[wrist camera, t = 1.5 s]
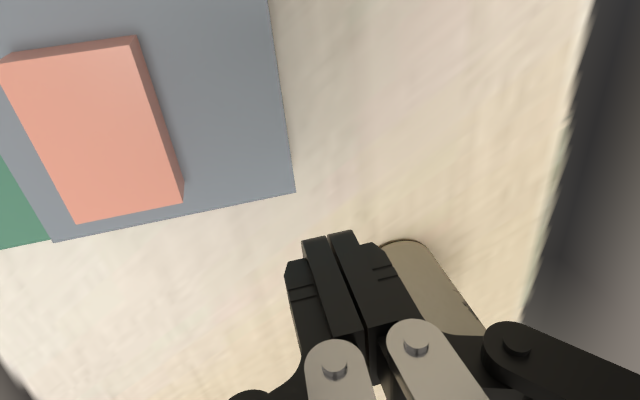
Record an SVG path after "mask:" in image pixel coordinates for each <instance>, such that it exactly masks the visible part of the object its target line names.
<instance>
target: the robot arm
mask: <svg viewBox="0 0 640 400" xmlns="http://www.w3.org/2000/svg"><path fill="white" fill-rule="evenodd" d="M301 245H302V252H303V258H302V259H298V260H294V261H290V262H288V264H287V267H286V270H285V274H284V279H285V284H286V289H287V294H288V299H289V304H290V309H291V314H292V318H293V322H294V326H295V331H296V335H297V339H298V344H299V348H300V352H301V361H300V364H299V367H298V369H297V370H296V372H295V373H294V375H293V376H292V377H291V378H290V379H289V380H288V381H286V382H285V383H284V384H282V385H281V386H279V387H278V388H276V389H275V390H273V391H272V392H270V393H267V392H265V391H261V390H247V391H243V392H240V393H238V394H236V395H234V396H233V397H231V398H230V399H229V400H376V397H375V393H374V390H373V387H372V386H375V385H378V384H381V386H382V388H383V391H384V393H385V396H386V400H640V375H639V374H637V373H634V372H632V371H630V370H628V369H625V368H623V367H621V366H618V365H616V364H614V363H611V362H609V361H607V360H604V359H602V358H600V357H598V356H595V355H593V354H591V353H588V352H586V351H584V350H581V349H579V348H577V347H574V346H572V345H570V344H568V343H565V342H563V341H561V340H558V339H556V338H554V337H551V336H549V335H547V334H545V333H542V332H540V331H538V330H535V329H533V328H531V327H528V326H526V325H523V324H521V323H517V322H511V321H503V322H498V323H495V324H493V325H491V326H490V327H489V328H487V330H486V331H485V334H484V336H470V335H453V334H448V333H445V332H442V331H440V330H439V329H438V328H437V327H436V326H435V325H433V324H432V323H429V322H427V321H426V320H425V319H424V318H423V316H422V315H421V313H420V311H419V310H418V308H417V306H416V304H415V303H414V301H413V299H412V298H411V296H410V294H409V292H408V291H407V289H406V287H405V285H404V284H403V282H402V280H401V279H400V277H399V276H398V273H397V272H396V270H395V268H394V267H393V266H392V263H391V261H390V259H389V258H388V256H387V254H386V253H385V251H383V250H382V249H381V248H379V247H378V246H377V245H375V244H374V243H372V242H371V243H366V244H362V245H359V243H358V241H357V239H356V237H355V235H354V233H353V231H352V230H346V231H342V232H337V233H333V234H329V235H327V238H326V236H320V237H316V238H311V239H307V240H303V241H301Z"/></svg>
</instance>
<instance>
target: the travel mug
mask: <svg viewBox="0 0 640 400" xmlns="http://www.w3.org/2000/svg"><path fill="white" fill-rule="evenodd" d="M381 249H382V250H383V251H385V253H386V254H387V256H388V258H389V259H390V261H391V263H392V266H393V267H394V268H395V270H396V272H397V273H398V276H399V277H400V279H401V280H402V282H403V284H404V285H405V287H406V289H407V291H408V292H409V294H410V296H411V298H412V299H413V301H414V303H415V304H416V306H417V308H418V310H419V311H420V313H421V315H422V316H423V318H424V319H425V320H426V321H427V322H429V323H432V324H433V325H435V326H436V327H437V328H438V329H439V330H440V331H442V332H445V333H448V334H453V335H470V336H484V334H485V331H486V329H485V327H484V326H483V325H482V323H481V322H480V320H479V319H478V318H477V316H476V315H475V314H474V312H473V311H472V309H471V308H470V307H469V305H468V304H467V302H466V301H465V300H464V298H463V297H462V295H461V294H460V293H459V291H458V290H457V289H456V287H455V286H454V284H453V283H452V282H451V280H450V279H449V277H448V276H447V275H446V273H445V272H444V270H443V269H442V268H441V266H440V265H439V264H438V262H437V261H436V259H435V258H434V257H433V255H432V254H431V252H430V251H429V250H428V249H427V248H426V247H425V246H424V245H422V244H420V243H418V242H414V241H399V242H394V243H391V244H388V245H386V246H384V247H382V248H381Z"/></svg>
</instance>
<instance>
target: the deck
mask: <svg viewBox="0 0 640 400" xmlns="http://www.w3.org/2000/svg"><path fill="white" fill-rule="evenodd" d="M129 35H137V38H138V41H139V44H140V47H141V50H142V53H143V56H144V59H145V63H146V66H147V69H148V72H149V75H150V78H151V81H152V84H153V87H154V90H155V93H156V96H157V99H158V102H159V105H160V108H161V111H162V115H163V118H164V121H165V124H166V127H167V130H168V133H169V136H170V139H171V142H172V145H173V148H174V151H175V154H176V157H177V160H178V163H179V167H180V170H181V173H182V176H183V179H184V182H185V183H184V197H183V203H180V204H175V205H170V206H165V207H161V208H156V209H151V210H146V211H141V212H136V213H131V214H126V215H121V216H116V217H112V218H107V219H102V220H97V221H92V222H87V223H82V224H77V225H76V224H75V222H74V220H73V218H72V217H71V215H70V213H69V211H68V209H67V207H66V205H65V204H64V202H63V200H62V198H61V196H60V194H59V192H58V191H57V189H56V187H55V185H54V183H53V181H52V179H51V178H50V176H49V174H48V172H47V170H46V168H45V166H44V165H43V163H42V161H41V159H40V157H39V155H38V153H37V152H36V150H35V148H34V146H33V144H32V142H31V140H30V139H29V137H28V135H27V133H26V131H25V129H24V127H23V126H22V124H21V122H20V120H19V118H18V116H17V114H16V113H15V111H14V109H13V107H12V105H11V103H10V101H9V100H8V98H7V96H6V94H5V92H4V90H3V88H2V87H1V85H0V155H1V157H2V158H3V160H4V162H5V163H6V165H7V167H8V168H9V170H10V172H11V173H12V175H13V177H14V178H15V180H16V182H17V183H18V185H19V187H20V188H21V190H22V192H23V193H24V195H25V197H26V198H27V200H28V202H29V204H30V205H31V207H32V209H33V210H34V212H35V214H36V215H37V217H38V219H39V220H40V222H41V224H42V225H43V227H44V229H45V230H46V232H47V234H48V235H49V237H50V239H51V240H52V242H53V243H56V242H61V241H66V240H71V239H75V238H80V237H85V236H90V235H95V234H99V233H104V232H109V231H114V230H119V229H123V228H128V227H133V226H138V225H143V224H147V223H152V222H157V221H162V220H166V219H171V218H176V217H181V216H186V215H190V214H195V213H200V212H205V211H210V210H214V209H219V208H224V207H229V206H234V205H238V204H243V203H248V202H253V201H258V200H262V199H267V198H272V197H277V196H281V195H286V194H291V193H296V188H295V181H294V174H293V168H292V161H291V154H290V148H289V141H288V134H287V128H286V121H285V114H284V108H283V101H282V94H281V88H280V81H279V74H278V68H277V61H276V54H275V48H274V41H273V34H272V28H271V21H270V14H269V8H268V1H267V0H0V59H1V58H3V57H5V56H6V55H8V54H10V53H11V52H17V51H24V50H31V49H38V48H45V47H52V46H59V45H66V44H73V43H80V42H87V41H94V40H101V39H108V38H115V37H122V36H129Z"/></svg>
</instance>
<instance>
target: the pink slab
mask: <svg viewBox="0 0 640 400" xmlns="http://www.w3.org/2000/svg"><path fill="white" fill-rule="evenodd" d="M0 85H1V87H2V88H3V90H4V92H5V94H6V96H7V98H8V100H9V101H10V103H11V105H12V107H13V109H14V111H15V113H16V114H17V116H18V118H19V120H20V122H21V124H22V126H23V127H24V129H25V131H26V133H27V135H28V137H29V139H30V140H31V142H32V144H33V146H34V148H35V150H36V152H37V153H38V155H39V157H40V159H41V161H42V163H43V165H44V166H45V168H46V170H47V172H48V174H49V176H50V178H51V179H52V181H53V183H54V185H55V187H56V189H57V191H58V192H59V194H60V196H61V198H62V200H63V202H64V204H65V205H66V207H67V209H68V211H69V213H70V215H71V217H72V218H73V220H74V222H75V224H76V225H77V224H82V223H87V222H92V221H97V220H102V219H107V218H112V217H116V216H121V215H126V214H131V213H136V212H141V211H146V210H151V209H156V208H161V207H165V206H170V205H175V204H180V203H183V197H184V183H185V182H184V179H183V176H182V173H181V170H180V167H179V163H178V160H177V157H176V154H175V151H174V148H173V145H172V142H171V139H170V136H169V133H168V130H167V127H166V124H165V121H164V118H163V115H162V111H161V108H160V105H159V102H158V99H157V96H156V93H155V90H154V87H153V84H152V81H151V78H150V75H149V72H148V69H147V66H146V63H145V59H144V56H143V53H142V50H141V47H140V44H139V41H138V38H137V35H129V36H122V37H115V38H108V39H101V40H94V41H87V42H80V43H73V44H66V45H59V46H52V47H45V48H38V49H31V50H24V51H17V52H11V53H10V54H8V55H6V56H5V57H3V58H1V59H0Z"/></svg>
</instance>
